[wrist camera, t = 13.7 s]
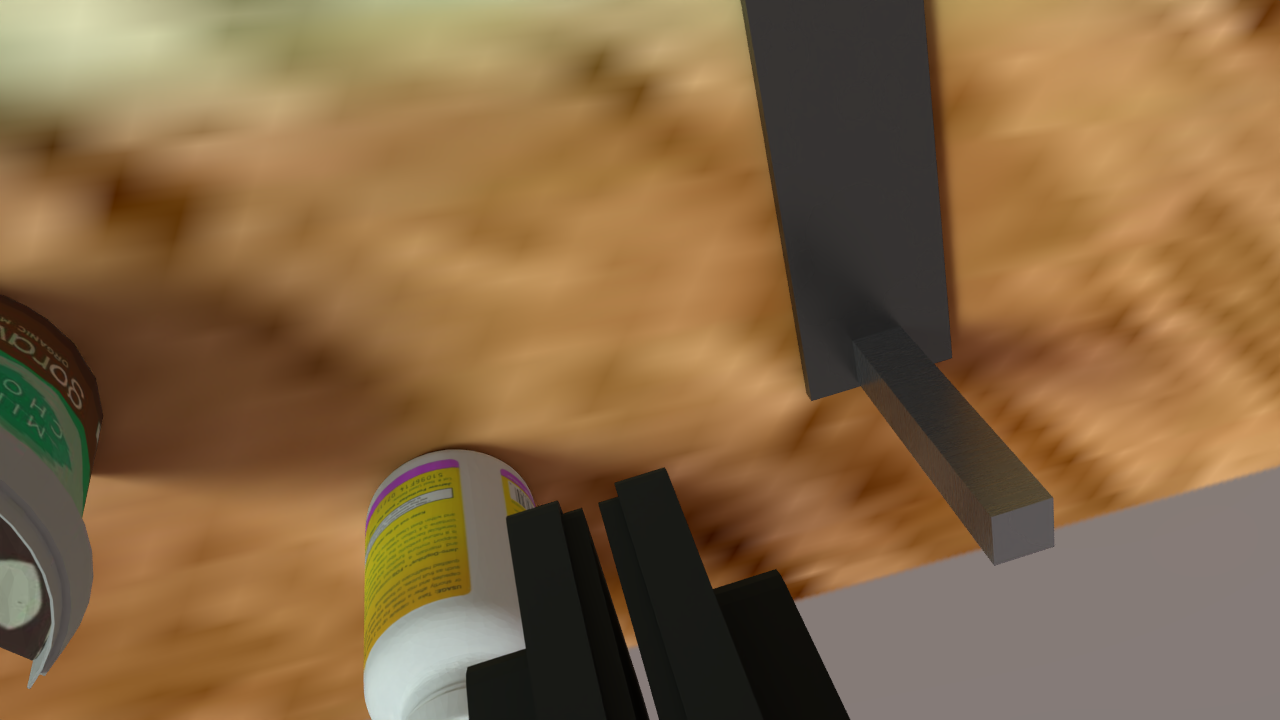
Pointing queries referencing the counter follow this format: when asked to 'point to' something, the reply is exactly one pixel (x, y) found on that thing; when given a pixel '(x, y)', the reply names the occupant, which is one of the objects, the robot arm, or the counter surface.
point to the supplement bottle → (438, 582)
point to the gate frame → (878, 244)
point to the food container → (43, 485)
